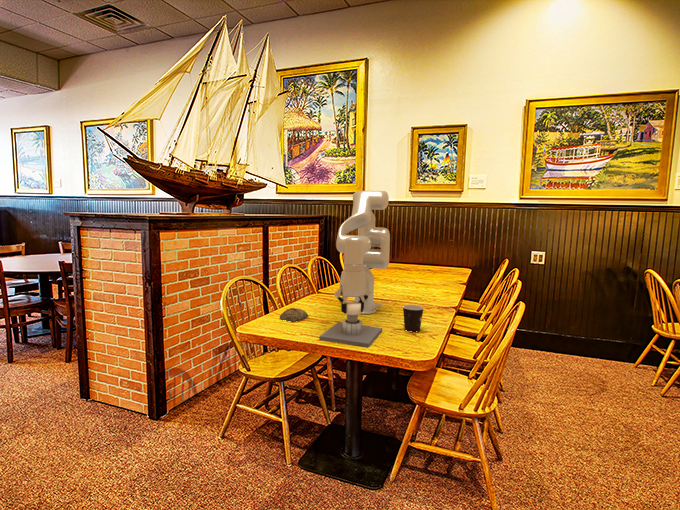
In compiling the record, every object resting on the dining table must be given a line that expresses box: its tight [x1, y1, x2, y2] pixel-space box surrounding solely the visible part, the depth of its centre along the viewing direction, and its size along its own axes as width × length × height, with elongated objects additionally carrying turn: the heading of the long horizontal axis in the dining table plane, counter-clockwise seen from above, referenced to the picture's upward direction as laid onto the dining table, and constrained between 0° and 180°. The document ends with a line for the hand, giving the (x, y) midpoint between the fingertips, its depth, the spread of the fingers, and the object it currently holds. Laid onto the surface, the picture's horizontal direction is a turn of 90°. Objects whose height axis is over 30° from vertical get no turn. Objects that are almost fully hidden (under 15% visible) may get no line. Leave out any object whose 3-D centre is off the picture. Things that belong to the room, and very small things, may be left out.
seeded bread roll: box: [279, 307, 309, 323], centre depth 173 cm, size 13×12×5 cm
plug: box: [345, 300, 362, 324], centre depth 149 cm, size 7×7×8 cm
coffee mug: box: [402, 304, 424, 333], centre depth 157 cm, size 12×9×10 cm
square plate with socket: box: [319, 318, 383, 348], centre depth 150 cm, size 20×20×6 cm
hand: (352, 311), depth 149 cm, fingers closed on plug, 6 cm apart
